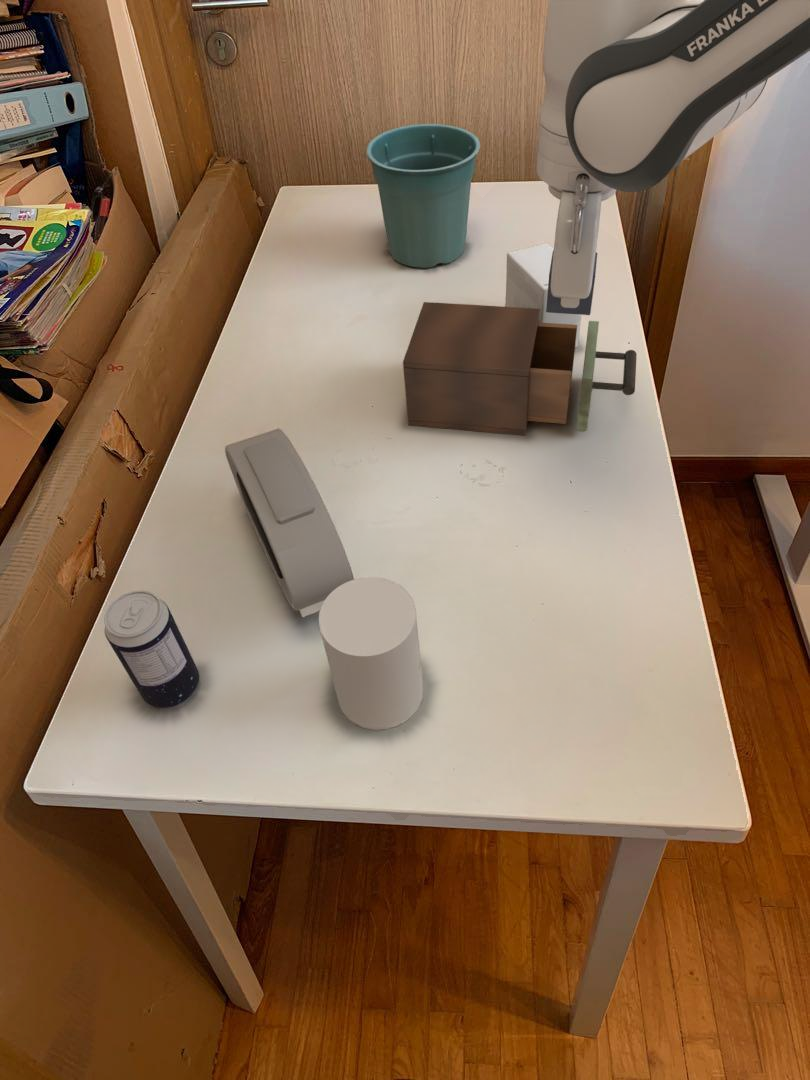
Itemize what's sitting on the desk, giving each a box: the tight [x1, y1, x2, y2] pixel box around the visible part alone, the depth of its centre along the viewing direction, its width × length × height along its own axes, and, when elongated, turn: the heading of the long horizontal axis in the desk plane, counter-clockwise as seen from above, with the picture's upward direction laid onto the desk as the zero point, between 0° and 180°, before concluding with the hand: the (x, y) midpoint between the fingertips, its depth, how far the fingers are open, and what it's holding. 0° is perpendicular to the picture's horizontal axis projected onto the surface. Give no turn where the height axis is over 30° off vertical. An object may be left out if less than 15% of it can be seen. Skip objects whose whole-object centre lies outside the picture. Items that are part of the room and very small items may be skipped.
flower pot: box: [366, 123, 481, 269], centre depth 124 cm, size 16×16×16 cm
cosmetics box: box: [504, 242, 582, 349], centre depth 109 cm, size 10×6×10 cm, turn 22°
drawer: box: [527, 320, 637, 433], centre depth 99 cm, size 18×11×8 cm, turn 78°
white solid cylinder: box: [318, 576, 425, 731], centre depth 73 cm, size 8×8×12 cm
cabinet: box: [402, 301, 540, 436], centre depth 101 cm, size 15×13×10 cm
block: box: [546, 250, 598, 316], centre depth 84 cm, size 4×4×4 cm
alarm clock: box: [224, 428, 355, 619], centre depth 84 cm, size 23×6×13 cm, turn 24°
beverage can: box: [103, 590, 200, 709], centre depth 74 cm, size 6×6×12 cm
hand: (571, 287), depth 85 cm, fingers closed on block, 4 cm apart
